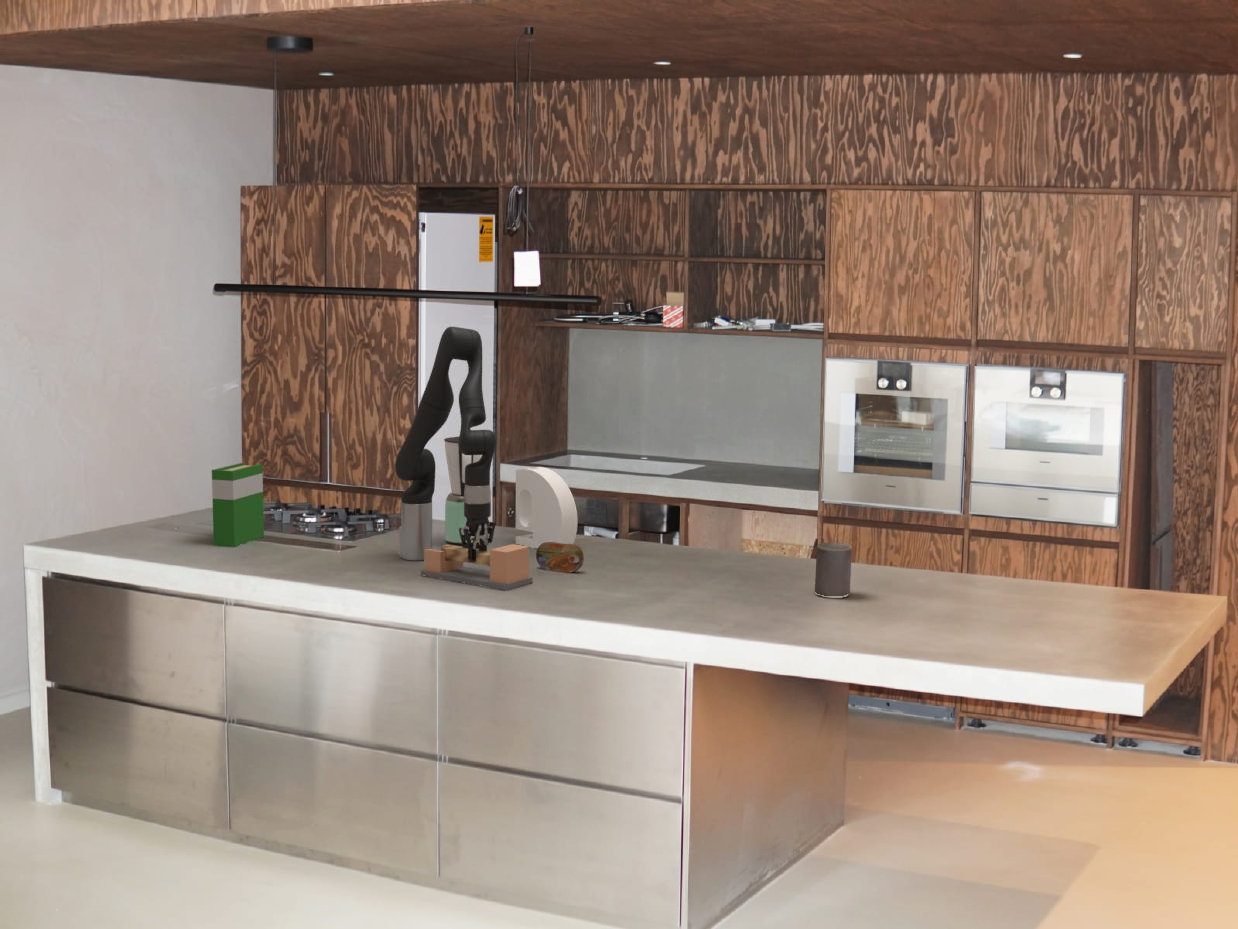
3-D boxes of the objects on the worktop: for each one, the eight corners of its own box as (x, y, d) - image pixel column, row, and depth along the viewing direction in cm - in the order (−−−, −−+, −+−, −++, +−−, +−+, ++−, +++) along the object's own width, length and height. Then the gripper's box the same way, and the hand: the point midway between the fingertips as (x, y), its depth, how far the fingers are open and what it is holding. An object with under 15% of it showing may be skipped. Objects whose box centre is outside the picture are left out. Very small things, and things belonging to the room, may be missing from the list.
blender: (443, 540, 455) (443, 433, 450) (485, 540, 457) (485, 432, 452) (445, 552, 436) (445, 440, 431) (489, 551, 439) (489, 440, 434)
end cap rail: (420, 575, 404) (420, 539, 402) (448, 568, 414) (448, 533, 412) (505, 590, 387) (506, 553, 385) (532, 583, 397) (532, 546, 395)
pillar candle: (807, 592, 390) (809, 539, 387) (838, 589, 393) (840, 536, 391) (826, 600, 381) (828, 546, 379) (857, 597, 385) (859, 543, 382)
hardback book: (243, 535, 459) (241, 462, 456) (263, 537, 457) (262, 463, 454) (213, 545, 442) (211, 470, 439) (234, 547, 440) (232, 471, 437)
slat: (441, 558, 404) (441, 547, 404) (450, 555, 407) (450, 545, 407) (506, 569, 391) (507, 558, 390) (515, 566, 394) (515, 556, 394)
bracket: (530, 542, 455) (530, 465, 452) (577, 551, 441) (577, 471, 438) (515, 545, 450) (514, 467, 447) (562, 554, 436) (562, 474, 433)
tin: (535, 568, 415) (535, 540, 414) (540, 566, 418) (541, 539, 417) (579, 574, 408) (580, 546, 407) (585, 572, 411) (585, 544, 410)
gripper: (483, 495, 405) (483, 554, 407) (450, 502, 393) (450, 562, 395) (503, 498, 400) (503, 557, 403) (471, 505, 389) (471, 566, 391)
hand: (477, 559), depth 399 cm, fingers closed on slat, 4 cm apart
